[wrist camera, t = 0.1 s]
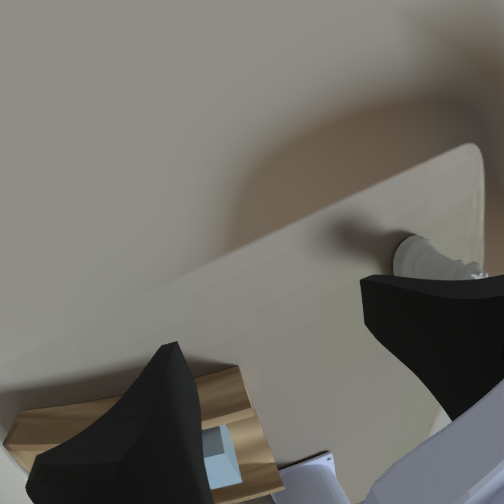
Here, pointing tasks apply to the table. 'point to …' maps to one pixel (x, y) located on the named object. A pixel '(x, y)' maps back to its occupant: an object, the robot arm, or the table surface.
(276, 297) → the table surface
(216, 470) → the blue block
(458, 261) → the rook chess piece
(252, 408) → the board
